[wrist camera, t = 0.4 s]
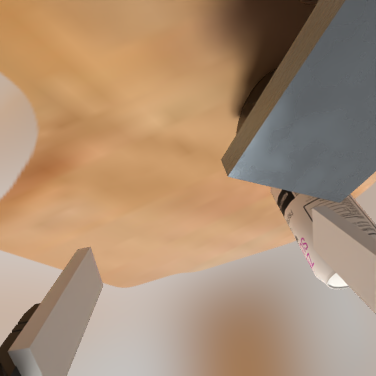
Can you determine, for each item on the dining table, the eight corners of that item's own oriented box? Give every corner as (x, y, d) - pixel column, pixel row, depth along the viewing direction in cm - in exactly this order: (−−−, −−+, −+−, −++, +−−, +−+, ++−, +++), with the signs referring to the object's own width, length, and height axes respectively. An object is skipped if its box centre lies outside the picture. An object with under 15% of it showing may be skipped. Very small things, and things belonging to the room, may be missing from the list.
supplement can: (336, 166, 37) (417, 259, 27) (294, 203, 42) (349, 294, 31) (298, 147, 34) (375, 245, 23) (257, 189, 38) (305, 288, 28)
